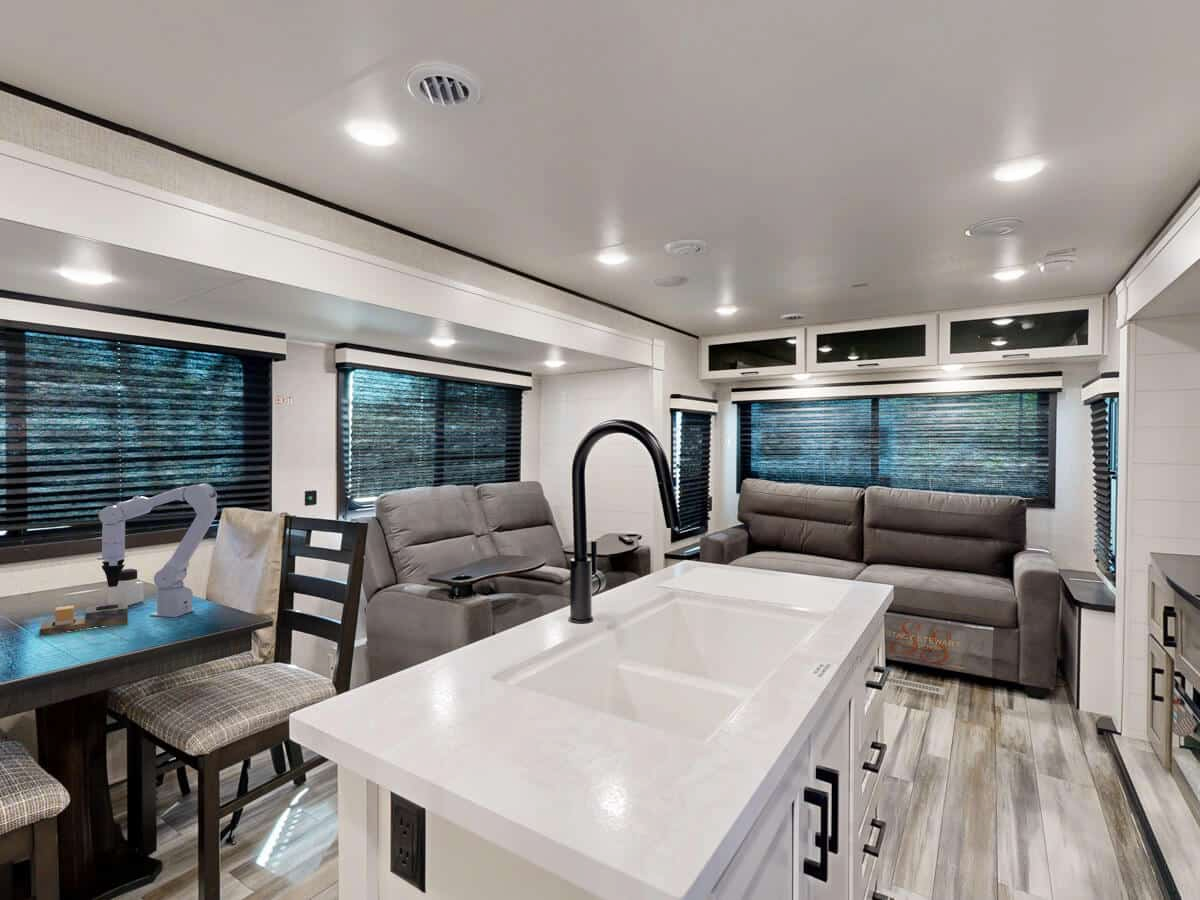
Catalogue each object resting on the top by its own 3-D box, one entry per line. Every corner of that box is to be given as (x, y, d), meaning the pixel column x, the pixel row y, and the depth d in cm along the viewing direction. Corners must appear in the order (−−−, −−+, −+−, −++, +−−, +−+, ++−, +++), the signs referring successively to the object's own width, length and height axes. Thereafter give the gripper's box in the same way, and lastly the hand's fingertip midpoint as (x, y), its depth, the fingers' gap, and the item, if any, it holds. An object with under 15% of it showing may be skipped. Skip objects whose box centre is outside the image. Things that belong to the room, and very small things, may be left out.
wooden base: (127, 617, 193) (127, 601, 193) (127, 624, 186) (127, 608, 186) (42, 628, 180) (42, 611, 180) (39, 636, 173) (39, 618, 173)
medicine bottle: (144, 601, 212) (144, 567, 212) (126, 607, 205) (126, 572, 205) (125, 600, 213) (126, 567, 212) (107, 606, 205) (107, 571, 205)
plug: (73, 626, 183) (74, 605, 183) (72, 629, 180) (73, 608, 180) (56, 628, 180) (56, 607, 180) (55, 632, 177) (55, 610, 177)
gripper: (98, 540, 197) (97, 581, 197) (96, 546, 185) (96, 590, 185) (125, 538, 201) (124, 579, 201) (125, 544, 190) (125, 587, 190)
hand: (113, 584), depth 194 cm, fingers open, 7 cm apart
